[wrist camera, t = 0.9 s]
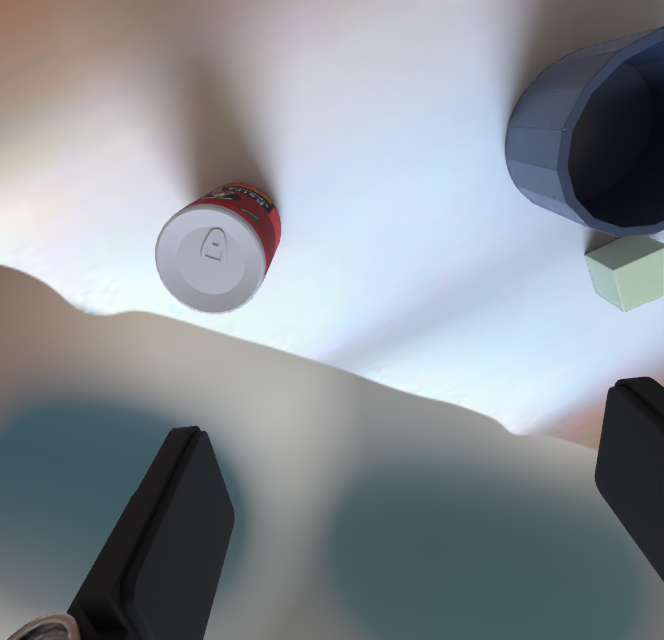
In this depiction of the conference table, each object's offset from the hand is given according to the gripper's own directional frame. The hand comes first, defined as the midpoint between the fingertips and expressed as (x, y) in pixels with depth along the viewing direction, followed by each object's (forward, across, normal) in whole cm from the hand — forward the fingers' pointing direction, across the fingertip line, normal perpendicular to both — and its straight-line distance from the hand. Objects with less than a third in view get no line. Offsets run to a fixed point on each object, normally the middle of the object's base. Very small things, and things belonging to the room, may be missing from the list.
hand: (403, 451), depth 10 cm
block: (+31, -24, +8) cm, 40 cm away
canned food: (+31, +11, 0) cm, 33 cm away
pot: (+31, -20, -4) cm, 37 cm away
